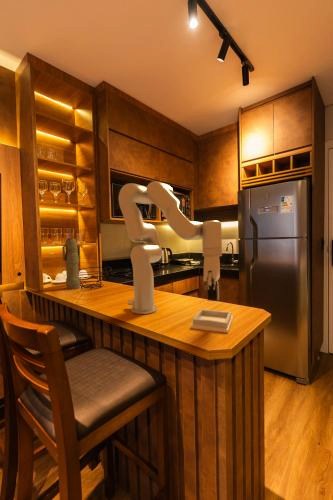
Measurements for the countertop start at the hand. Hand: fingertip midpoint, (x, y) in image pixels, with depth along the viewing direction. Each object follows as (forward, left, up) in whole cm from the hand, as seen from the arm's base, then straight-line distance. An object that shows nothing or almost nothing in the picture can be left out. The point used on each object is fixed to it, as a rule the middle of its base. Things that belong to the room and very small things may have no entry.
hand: (213, 297), depth 95 cm
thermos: (-105, +35, -11) cm, 111 cm away
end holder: (0, 0, -10) cm, 10 cm away
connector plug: (0, 0, -1) cm, 1 cm away
